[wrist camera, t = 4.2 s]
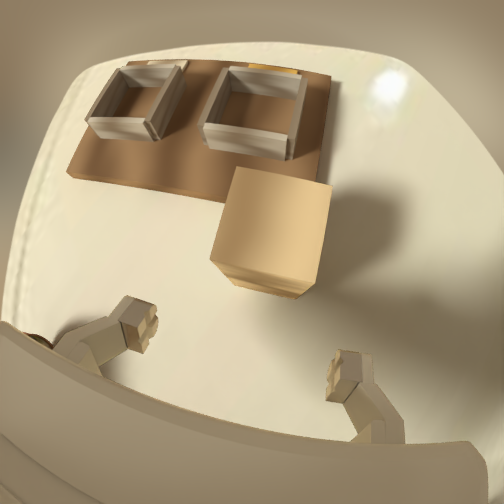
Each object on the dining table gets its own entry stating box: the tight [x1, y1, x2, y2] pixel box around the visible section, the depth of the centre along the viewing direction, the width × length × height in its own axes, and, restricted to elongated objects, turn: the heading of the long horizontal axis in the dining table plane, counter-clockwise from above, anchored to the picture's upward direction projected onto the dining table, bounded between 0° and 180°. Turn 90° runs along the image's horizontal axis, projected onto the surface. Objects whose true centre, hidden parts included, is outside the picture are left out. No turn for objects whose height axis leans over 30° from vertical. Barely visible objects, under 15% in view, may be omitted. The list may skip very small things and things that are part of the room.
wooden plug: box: [210, 166, 333, 299], centre depth 18 cm, size 5×5×10 cm
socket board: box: [66, 59, 331, 203], centre depth 25 cm, size 24×16×4 cm, turn 76°
